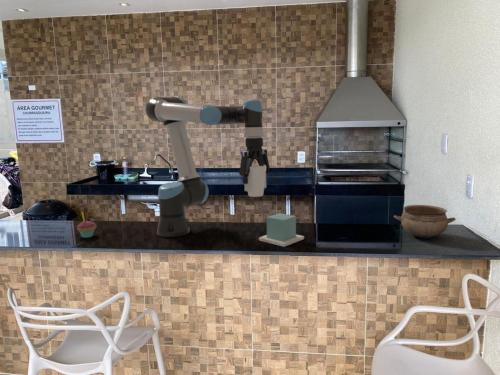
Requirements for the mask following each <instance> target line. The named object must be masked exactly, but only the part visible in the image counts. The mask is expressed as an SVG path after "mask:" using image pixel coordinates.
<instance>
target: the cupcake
mask: <svg viewBox="0 0 500 375" xmlns="http://www.w3.org/2000/svg"><path fill="white" fill-rule="evenodd" d="M81 217H82V222H79V223H78V224H77V225H76V230H77V231H78V232H79V233H80V236H81V237H82V238H84V239H85V238H91V237H93V235H94V232H95V229H97V226H98V225H97V224H96V223H95V221H91V220H86V219H85V216H84V212H81Z"/></svg>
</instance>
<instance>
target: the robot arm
mask: <svg viewBox="0 0 500 375" xmlns="http://www.w3.org/2000/svg"><path fill="white" fill-rule="evenodd" d="M262 106H263V104H262V101H261V100H259V99H250V100H249V99H248V100H244V101H243V105H234V106H233V105H231V106H230V105H229V106H228V105H224V106H222V105H221V106H220V105H206V104H194V103H193V104H191V103H188V102H187V101H186V100H184V99H183V98H181V97H177V96H176V97H175V96H173V97H167V96H154V97H153V98H150V99H149V100H148V101H147V102H146V104H145V114H146V116H147V117H148V118H149V120H151V121H152V122H155V123H156V122H158V123H163V127H164V128H165V129H166V130H168V131H167V132H168V135H169V138H170V143H171V148H172V153H173V156H174V159H175V160H174V161H175V164H176V169H177V174H178V178H177V181H171V182H166V183H164V184H163V183H162V185H160V186H159V187H158V194H157V196H158V205H159V220H158V222H157V228H156V235H157V236H159V237H162V238H175V237H176V238H178V237H182V236H186V235H188V234H189V233H190V226H189V223H188V220H187V218H186V212H185V209H187V208H191V207H194V206H195V207H196V206H199V205H200V204H204V203H205V201H206V200H207V199H208V197H209V187H208V184H207V183H206V182H205V181H203V180H202V178H201V175H199V174H198V173H197V169H196V166H195V162H194V158H193V153H192V149H191V144H190V140H189V135H188V131H187V127H186V126H187V124H188V122H189V123H190V122H191V123H197V124H205V125H208V126H215V125H217V126H218V125H239V124H240V125H241V124H243V125H244V136H245V139H244V140H245V141H244V142H245V147H246V151H245V150H244V151H241V152H240V154H241V158H240V159H241V160H240V165H239V176H241V177H243V178H242V179H243V180H242V181H243V184H244V185H243V186H244V192H247V193H248V192H250V176H248V175H249V172H250V167H251V166H252V165H253V162H255V161H256V162H257V164H259V166H263V165H266V173H265V183H264V189H267V180H268V179H267V176H268V175H267V174H269V172H270V171H271V167H270V163H269V159H268V158H269V157H268V149H266V148H265V149H264V148H263V146H264V138H263V136H264V133H263V130H264V129H263V107H262Z"/></svg>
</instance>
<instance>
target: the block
mask: <svg viewBox="0 0 500 375" xmlns="http://www.w3.org/2000/svg"><path fill="white" fill-rule="evenodd" d="M266 235H267V237H268V238H272V239H277V240H281V241H285V240H287V239H290V238H293V237H295V236H296V235H297V217H296V215H292V214H286V213H280V212H279V213H276V214H273V215H269V216H266Z"/></svg>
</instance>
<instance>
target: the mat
mask: <svg viewBox="0 0 500 375" xmlns="http://www.w3.org/2000/svg"><path fill="white" fill-rule="evenodd" d="M304 239H305V235H300V234H296V236H295V237H293V238H290V239H287V240H285V241H281V240H277V239H272V238H268V237H267V234H265V235H262V236H259V237H258V241H260V242H264V243H268V244H273V245H277V246H278V247H279V246H280V247H283V248H284V247H287V246H289V245H292V244H294V243H295V244H296V243H298V242H300V241H302V240H304Z"/></svg>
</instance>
